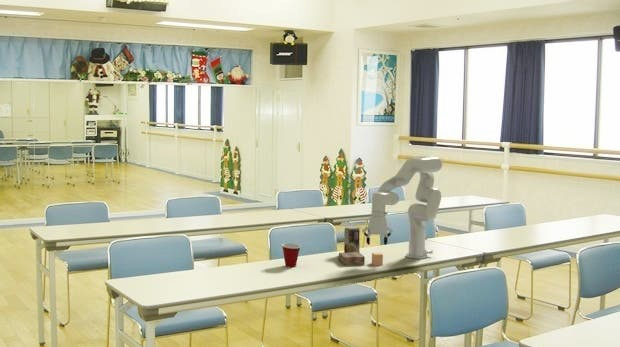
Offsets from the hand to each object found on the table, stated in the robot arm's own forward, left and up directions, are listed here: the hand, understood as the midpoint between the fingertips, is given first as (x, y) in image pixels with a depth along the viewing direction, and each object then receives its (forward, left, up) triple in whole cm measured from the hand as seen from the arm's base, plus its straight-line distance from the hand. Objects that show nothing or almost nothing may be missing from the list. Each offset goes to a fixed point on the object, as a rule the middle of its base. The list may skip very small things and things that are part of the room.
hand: (376, 244), depth 380 cm
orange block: (-1, 0, -11) cm, 11 cm away
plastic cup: (+48, +1, -12) cm, 50 cm away
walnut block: (+13, -4, -12) cm, 18 cm away
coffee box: (+9, -22, -12) cm, 27 cm away
